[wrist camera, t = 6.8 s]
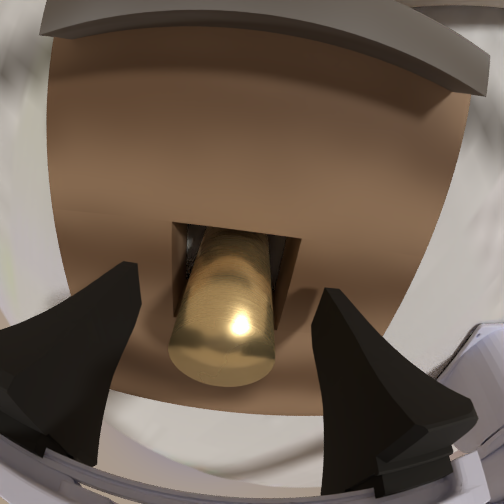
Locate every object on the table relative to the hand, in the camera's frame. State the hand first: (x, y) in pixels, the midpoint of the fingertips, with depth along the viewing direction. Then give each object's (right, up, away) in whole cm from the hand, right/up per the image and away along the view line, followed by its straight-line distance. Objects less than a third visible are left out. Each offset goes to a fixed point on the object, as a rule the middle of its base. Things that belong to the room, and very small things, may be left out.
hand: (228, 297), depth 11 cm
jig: (0, +2, +3) cm, 4 cm away
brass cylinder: (0, +2, +3) cm, 4 cm away
